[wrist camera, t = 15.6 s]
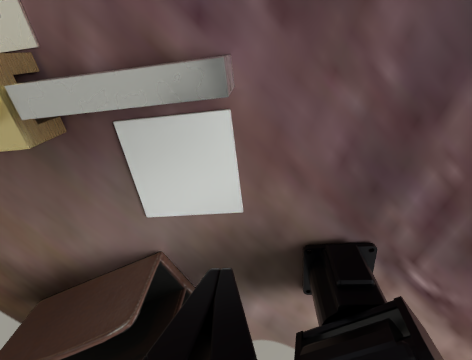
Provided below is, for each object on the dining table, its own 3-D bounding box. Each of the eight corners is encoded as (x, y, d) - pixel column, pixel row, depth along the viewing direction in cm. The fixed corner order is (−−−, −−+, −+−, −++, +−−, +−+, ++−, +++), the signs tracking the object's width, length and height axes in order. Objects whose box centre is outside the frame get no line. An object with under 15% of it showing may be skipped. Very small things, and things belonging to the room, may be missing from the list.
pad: (243, 210, 22) (242, 212, 22) (148, 215, 23) (146, 217, 23) (230, 108, 18) (229, 109, 18) (115, 121, 19) (113, 122, 19)
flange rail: (235, 95, 18) (226, 116, 12) (-28, 124, 20) (-128, 152, 15) (210, -121, 13) (177, -238, 7) (-134, -44, 15) (-338, -90, 10)
